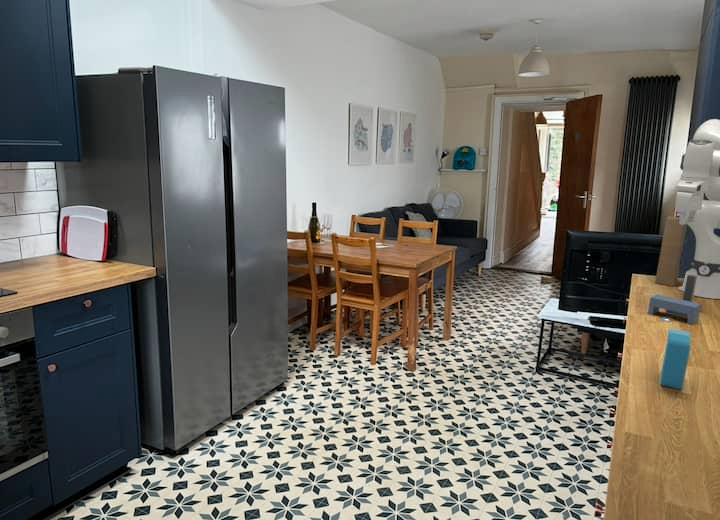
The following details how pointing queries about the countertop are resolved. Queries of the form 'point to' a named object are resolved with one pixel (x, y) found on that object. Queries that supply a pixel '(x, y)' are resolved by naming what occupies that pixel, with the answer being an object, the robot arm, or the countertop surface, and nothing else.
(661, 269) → the decorative block
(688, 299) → the scraper
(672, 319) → the steel token
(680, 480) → the countertop surface
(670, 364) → the data package
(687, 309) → the blue-grey bridge block
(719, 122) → the robot arm
